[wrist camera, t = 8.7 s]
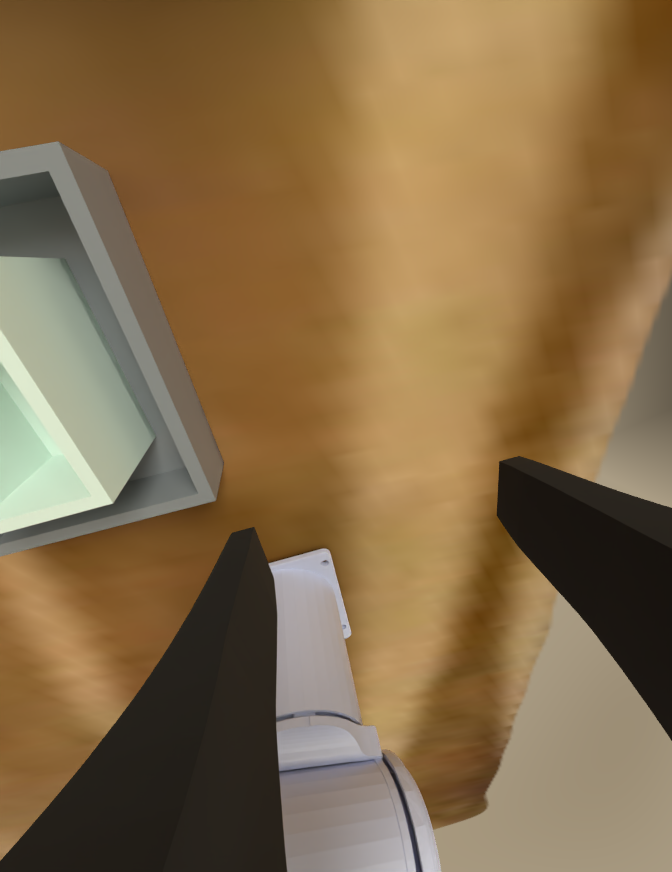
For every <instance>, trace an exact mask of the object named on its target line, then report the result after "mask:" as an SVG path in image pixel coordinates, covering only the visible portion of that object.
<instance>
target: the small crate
mask: <svg viewBox="0 0 672 872" xmlns="http://www.w3.org/2000/svg"><path fill="white" fill-rule="evenodd" d="M155 437H156V435H155V433H154V431H153V429H152V427H151V425H150V423H149V421H148V419H147V417H146V415H145V413H144V411H143V409H142V407H141V405H140V403H139V402H138V400H137V398H136V396H135V394H134V392H133V390H132V388H131V386H130V384H129V382H128V380H127V378H126V376H125V374H124V372H123V370H122V368H121V366H120V364H119V362H118V361H117V359H116V357H115V355H114V353H113V351H112V349H111V347H110V345H109V343H108V341H107V339H106V337H105V335H104V333H103V331H102V329H101V327H100V325H99V323H98V321H97V320H96V318H95V316H94V314H93V312H92V310H91V308H90V306H89V304H88V302H87V300H86V298H85V296H84V294H83V292H82V290H81V288H80V286H79V284H78V282H77V280H76V279H75V277H74V275H73V273H72V271H71V269H70V267H69V265H68V263H67V261H66V259H65V258H34V257H3V256H0V534H2V533H5V532H9V531H13V530H16V529H20V528H24V527H28V526H31V525H35V524H39V523H42V522H46V521H50V520H53V519H57V518H61V517H65V516H68V515H72V514H76V513H79V512H83V511H87V510H90V509H94V508H98V507H102V506H105V505H109V504H113V503H114V501H115V500H116V498H117V497H118V495H119V493H120V492H121V490H122V489H123V487H124V486H125V484H126V483H127V481H128V479H129V478H130V476H131V475H132V473H133V472H134V470H135V468H136V467H137V465H138V464H139V462H140V461H141V459H142V457H143V456H144V454H145V453H146V451H147V450H148V448H149V446H150V445H151V443H152V442H153V440H154V439H155Z"/></svg>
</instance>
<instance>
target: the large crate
mask: <svg viewBox="0 0 672 872" xmlns="http://www.w3.org/2000/svg"><path fill="white" fill-rule="evenodd" d="M0 256H3V257H34V258H65V259H66V261H67V263H68V265H69V267H70V269H71V271H72V273H73V275H74V277H75V279H76V280H77V282H78V284H79V286H80V288H81V290H82V292H83V294H84V296H85V298H86V300H87V302H88V304H89V306H90V308H91V310H92V312H93V314H94V316H95V318H96V320H97V321H98V323H99V325H100V327H101V329H102V331H103V333H104V335H105V337H106V339H107V341H108V343H109V345H110V347H111V349H112V351H113V353H114V355H115V357H116V359H117V361H118V362H119V364H120V366H121V368H122V370H123V372H124V374H125V376H126V378H127V380H128V382H129V384H130V386H131V388H132V390H133V392H134V394H135V396H136V398H137V400H138V402H139V403H140V405H141V407H142V409H143V411H144V413H145V415H146V417H147V419H148V421H149V423H150V425H151V427H152V429H153V431H154V433H155V435H156V437H155V439H154V440H153V442H152V443H151V445H150V446H149V448H148V450H147V451H146V453H145V454H144V456H143V457H142V459H141V461H140V462H139V464H138V465H137V467H136V468H135V470H134V472H133V473H132V475H131V476H130V478H129V479H128V481H127V483H126V484H125V486H124V487H123V489H122V490H121V492H120V493H119V495H118V497H117V498H116V500H115V501H114V503H113V504H109V505H105V506H102V507H98V508H94V509H90V510H87V511H83V512H79V513H76V514H72V515H68V516H65V517H61V518H57V519H53V520H50V521H46V522H42V523H39V524H35V525H31V526H28V527H24V528H20V529H16V530H13V531H9V532H5V533H2V534H0V556H4V555H8V554H12V553H16V552H20V551H23V550H27V549H31V548H35V547H39V546H43V545H47V544H50V543H54V542H58V541H62V540H66V539H70V538H74V537H77V536H81V535H85V534H89V533H93V532H97V531H101V530H105V529H108V528H112V527H116V526H120V525H124V524H128V523H132V522H135V521H139V520H143V519H147V518H151V517H155V516H159V515H162V514H166V513H170V512H174V511H178V510H182V509H186V508H189V507H193V506H197V505H201V504H205V503H209V502H213V501H216V498H217V493H218V489H219V484H220V479H221V474H222V469H223V465H224V462H223V459H222V457H221V454H220V452H219V449H218V446H217V444H216V441H215V439H214V436H213V434H212V431H211V429H210V426H209V424H208V421H207V419H206V416H205V414H204V411H203V409H202V406H201V404H200V401H199V399H198V396H197V394H196V391H195V389H194V386H193V384H192V381H191V379H190V376H189V374H188V371H187V369H186V366H185V364H184V361H183V359H182V356H181V354H180V351H179V349H178V346H177V344H176V341H175V339H174V336H173V334H172V331H171V329H170V326H169V324H168V321H167V319H166V316H165V314H164V311H163V309H162V306H161V304H160V301H159V298H158V296H157V293H156V291H155V288H154V286H153V283H152V281H151V278H150V276H149V273H148V271H147V268H146V266H145V263H144V261H143V258H142V256H141V253H140V251H139V248H138V246H137V243H136V241H135V238H134V236H133V233H132V231H131V228H130V226H129V223H128V221H127V218H126V216H125V213H124V211H123V208H122V206H121V203H120V201H119V198H118V196H117V193H116V191H115V188H114V186H113V183H112V181H111V178H110V176H109V173H108V171H107V170H105V169H104V168H102V167H100V166H99V165H97V164H95V163H94V162H92V161H90V160H89V159H87V158H85V157H84V156H82V155H80V154H79V153H77V152H75V151H74V150H72V149H70V148H69V147H67V146H65V145H64V144H62V143H60V142H59V141H58V142H52V143H47V144H41V145H35V146H29V147H23V148H17V149H11V150H6V151H0Z"/></svg>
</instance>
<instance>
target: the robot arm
mask: <svg viewBox="0 0 672 872" xmlns="http://www.w3.org/2000/svg"><path fill="white" fill-rule="evenodd" d="M497 516H498V518H499V519H500V521H501V523H502V524H503V526H504V527H505V529H506V530H507V532H508V533H509V534H510V536H511V537H512V539H513V540H514V541H515V543H516V544H517V545H518V547H519V548H520V549H521V550H522V551H523V552H524V554H525V555H526V556H527V557H528V558H529V559H530V560H531V561H532V563H533V564H534V565H535V566H536V567H537V568H538V569H539V570H540V572H541V573H542V574H543V575H544V576H545V577H546V578H547V579H548V580H549V582H550V583H551V584H552V585H553V586H554V587H555V588H556V589H557V590H558V592H559V593H560V594H561V595H562V596H563V597H564V598H565V599H566V600H567V601H568V602H569V604H570V605H571V606H572V607H573V608H574V609H575V610H576V611H577V613H579V615H580V616H581V617H582V619H583V620H584V621H585V622H586V623H587V624H588V626H589V627H590V628H591V629H592V631H593V632H594V633H595V634H596V636H597V637H598V638H599V640H600V641H601V642H602V644H603V645H604V646H605V648H606V649H607V650H608V652H609V653H610V654H611V656H612V657H613V658H614V660H615V661H616V662H617V664H618V665H619V666H620V668H621V669H622V670H623V672H624V673H625V675H626V676H627V677H628V679H629V680H630V681H631V683H632V684H633V686H634V687H635V688H636V690H637V691H638V693H639V694H640V695H641V697H642V698H643V700H644V701H645V702H646V703H647V705H648V707H649V708H650V709H651V711H652V712H653V713H654V715H655V717H656V718H657V720H658V721H659V723H660V724H661V725H662V727H663V728H664V730H665V731H666V733H667V734H668V736H669V737H670V739H671V740H672V508H670V507H667V506H663V505H660V504H657V503H654V502H650V501H647V500H644V499H641V498H638V497H634V496H631V495H629V494H626V493H623V492H619V491H617V490H614V489H611V488H608V487H605V486H602V485H599V484H597V483H594V482H591V481H588V480H586V479H583V478H580V477H577V476H575V475H572V474H569V473H566V472H564V471H561V470H558V469H556V468H553V467H550V466H547V465H544V464H542V463H539V462H536V461H533V460H530V459H527V458H523V457H520V456H518V457H514V458H511V459H507V460H503V461H499V481H498V502H497ZM324 560H327V561H325V562H322V561H324ZM350 635H351V629H350V626H349V622H348V618H347V614H346V610H345V607H344V603H343V599H342V595H341V592H340V588H339V584H338V580H337V576H336V573H335V569H334V565H333V561H332V558H331V554H330V551H329V550H328V549H319V550H315V551H312V552H308V553H304V554H301V555H297V556H294V557H290V558H286V559H283V560H279V561H276V562H272V563H268V561H267V559H266V556H265V554H264V551H263V548H262V546H261V543H260V541H259V538H258V536H257V533H256V531H255V528H254V527H252V528H249V529H245V530H241V531H237V532H234V533H232V534H231V535H230V537H229V539H228V541H227V543H226V545H225V547H224V549H223V551H222V553H221V555H220V557H219V559H218V561H217V563H216V565H215V567H214V569H213V571H212V573H211V575H210V576H209V578H208V580H207V582H206V584H205V586H204V588H203V589H202V591H201V593H200V595H199V597H198V599H197V600H196V602H195V604H194V606H193V608H192V609H191V611H190V613H189V614H188V616H187V618H186V619H185V621H184V623H183V624H182V626H181V628H180V629H179V631H178V633H177V634H176V636H175V638H174V639H173V641H172V643H171V644H170V646H169V647H168V649H167V650H166V652H165V653H164V655H163V657H162V658H161V660H160V661H159V663H158V664H157V666H156V667H155V669H154V670H153V672H152V673H151V675H150V676H149V677H148V679H147V680H146V682H145V683H144V685H143V686H142V687H141V689H140V690H139V692H138V693H137V695H136V696H135V697H134V699H133V700H132V701H131V703H130V704H129V705H128V707H127V708H126V709H125V711H124V712H123V713H122V715H121V716H120V717H119V719H118V720H117V721H116V723H115V724H114V725H113V727H112V728H111V729H110V730H109V732H108V733H107V734H106V736H105V737H104V738H103V740H102V741H101V742H100V743H99V745H98V746H97V747H96V749H95V750H94V751H93V752H92V754H91V755H90V756H89V758H88V759H87V760H86V761H85V763H84V764H83V765H82V766H81V768H80V769H79V770H78V771H77V772H76V774H75V775H74V776H73V777H72V778H71V780H70V781H69V782H68V783H67V784H66V786H65V787H64V788H63V789H62V790H61V792H60V793H59V794H58V795H57V796H56V798H55V799H54V800H53V801H52V802H51V804H50V805H49V806H48V807H47V808H46V809H45V810H44V812H43V813H42V814H41V815H40V816H39V817H38V819H37V820H36V821H35V822H34V823H33V824H32V826H31V827H30V828H29V829H28V830H27V831H26V833H25V834H24V835H23V836H22V837H21V838H20V839H19V841H18V842H17V843H16V844H15V845H14V846H13V847H12V848H11V850H10V851H9V852H8V853H7V854H6V855H5V856H4V857H3V859H2V860H1V861H0V872H441V867H440V861H439V855H438V850H437V846H436V841H435V837H434V833H433V829H432V825H431V822H430V818H429V815H428V812H427V809H426V806H425V803H424V800H423V798H422V795H421V793H420V791H419V789H418V786H417V784H416V783H415V781H414V779H413V777H412V776H411V774H410V773H409V771H408V770H407V769H406V767H405V766H404V764H403V763H402V761H401V760H400V759H399V758H398V756H397V755H396V754H395V753H393V752H392V751H390V750H381V747H380V743H379V739H378V735H377V731H376V727H375V726H363V724H362V719H361V714H360V709H359V705H358V700H357V695H356V691H355V686H354V681H353V676H352V672H351V667H350V662H349V658H348V653H347V648H346V644H345V639H346V638H348V637H349V636H350Z"/></svg>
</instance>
